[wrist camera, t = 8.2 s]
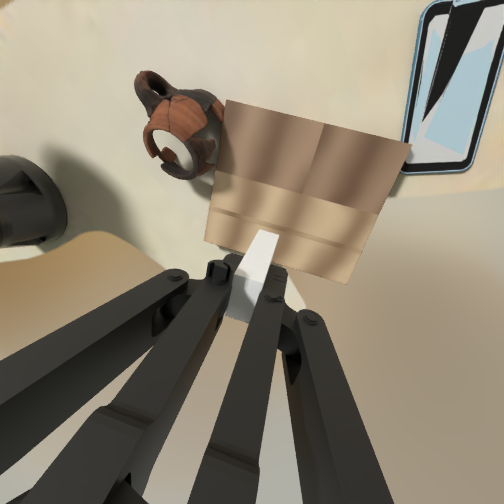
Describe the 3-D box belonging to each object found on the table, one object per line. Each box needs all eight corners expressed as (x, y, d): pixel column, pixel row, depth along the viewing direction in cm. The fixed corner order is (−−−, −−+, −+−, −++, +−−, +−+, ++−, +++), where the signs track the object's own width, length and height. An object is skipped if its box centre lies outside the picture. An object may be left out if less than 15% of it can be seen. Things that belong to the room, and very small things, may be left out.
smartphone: (395, 174, 28) (423, 2, 22) (393, 173, 29) (419, 7, 23) (471, 171, 27) (525, -18, 20) (466, 169, 27) (517, -12, 21)
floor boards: (220, 168, 33) (215, 170, 32) (230, 101, 29) (226, 99, 28) (375, 211, 31) (378, 215, 29) (407, 144, 27) (412, 144, 26)
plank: (207, 237, 37) (203, 240, 35) (219, 169, 33) (215, 170, 31) (345, 279, 35) (346, 285, 33) (374, 212, 31) (378, 215, 29)
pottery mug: (249, 129, 31) (219, 166, 26) (211, 162, 38) (182, 196, 33) (174, 33, 26) (121, 60, 21) (146, 93, 33) (102, 122, 28)
